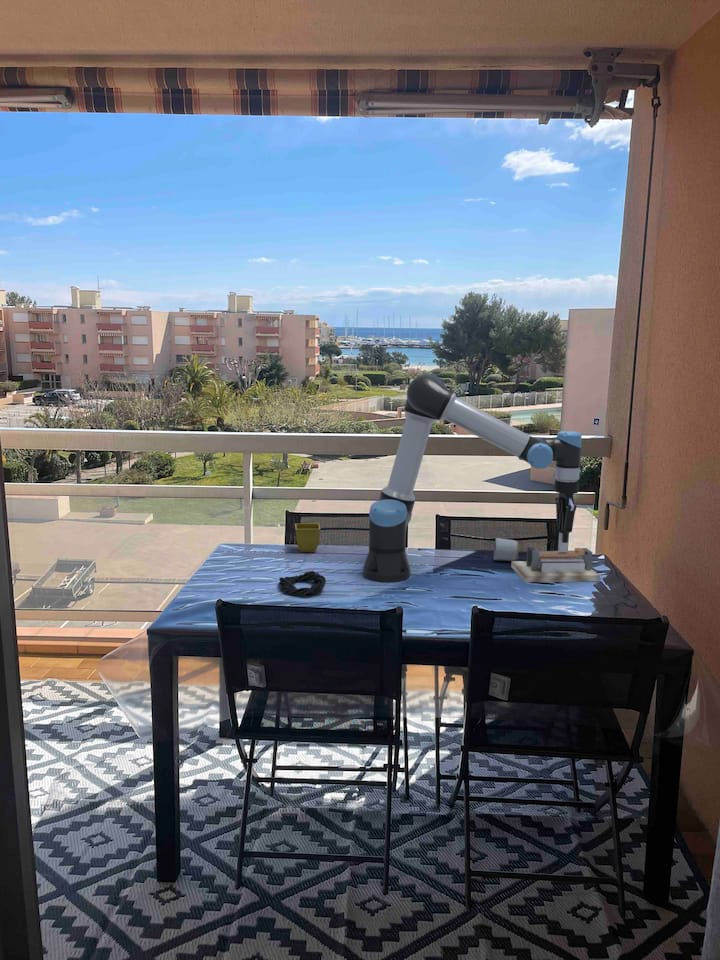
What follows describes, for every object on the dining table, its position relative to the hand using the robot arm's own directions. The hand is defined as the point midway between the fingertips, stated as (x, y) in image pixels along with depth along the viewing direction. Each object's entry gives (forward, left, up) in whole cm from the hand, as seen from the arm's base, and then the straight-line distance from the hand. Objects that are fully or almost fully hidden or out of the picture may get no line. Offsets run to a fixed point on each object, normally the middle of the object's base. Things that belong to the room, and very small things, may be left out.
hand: (562, 551), depth 243 cm
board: (-2, 0, -8) cm, 8 cm away
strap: (-2, 0, -2) cm, 2 cm away
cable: (-84, -13, -8) cm, 86 cm away
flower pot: (-82, +29, -8) cm, 88 cm away
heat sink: (-1, 0, -6) cm, 6 cm away
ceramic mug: (-14, +18, -8) cm, 24 cm away
